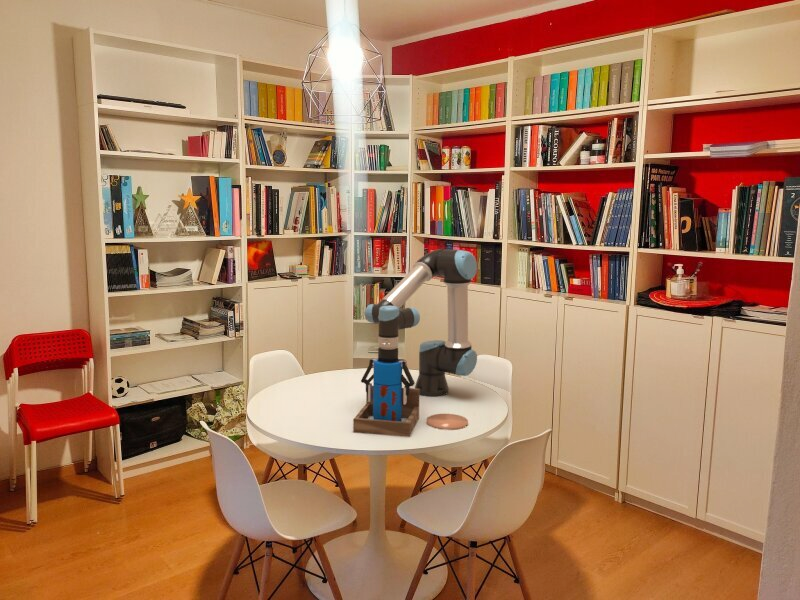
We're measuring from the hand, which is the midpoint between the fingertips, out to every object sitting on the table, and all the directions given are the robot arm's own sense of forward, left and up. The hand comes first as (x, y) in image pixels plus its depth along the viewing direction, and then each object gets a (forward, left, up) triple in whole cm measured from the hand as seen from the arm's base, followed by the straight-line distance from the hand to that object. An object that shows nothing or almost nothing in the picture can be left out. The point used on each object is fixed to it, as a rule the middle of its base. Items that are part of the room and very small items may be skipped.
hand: (387, 402), depth 243 cm
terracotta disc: (-8, +22, -9) cm, 25 cm away
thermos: (0, 0, -9) cm, 9 cm away
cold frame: (0, 0, -9) cm, 9 cm away
